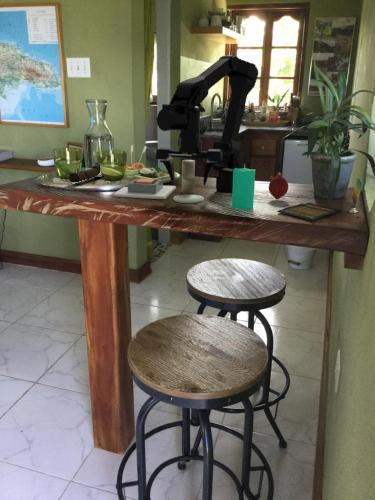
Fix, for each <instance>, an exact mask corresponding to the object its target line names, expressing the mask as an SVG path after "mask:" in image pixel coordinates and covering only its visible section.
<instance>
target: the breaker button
mask: <svg viewBox="0 0 375 500" xmlns="http://www.w3.org/2000/svg"><path fill="white" fill-rule="evenodd" d="M138 179H139V180H137V181H136V183H141V184H154V183H155V179H156V178H155V179H154V178H138Z"/></svg>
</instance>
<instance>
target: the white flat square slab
mask: <svg viewBox="0 0 375 500" xmlns="http://www.w3.org/2000/svg"><path fill="white" fill-rule="evenodd" d="M139 179H140V178H134V179H132V180H131V181H129V182H128V183H127V185H128V187H125V186H123V187H122V188H119V190H117V191H115V192H113V194H112V196H113V197H116V198H117V197H118V198H136V199H137V198H138V199H151V200H153V199H156V200H166V199H167V198H168V197H169V196H170V195H171V194H172V193H173V192H174V191H175V190H176V188H177V186H176V185H164V179H156V178H155V183H154V184H141V183H136V181H137V180H139Z"/></svg>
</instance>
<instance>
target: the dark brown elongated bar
mask: <svg viewBox="0 0 375 500" xmlns="http://www.w3.org/2000/svg"><path fill="white" fill-rule="evenodd" d="M99 173H100V165H99V164H96V165H92V168H89V169H86V170H83V171H82V170H81V171H77V172H71V173H69V174H68V181H71V182H79V181H81V182H83V181H82V180H84V181H86V180H85V179H87V180H91V179H93V178H92V177H95V176H97V175H98V174H99ZM90 178H91V179H90Z"/></svg>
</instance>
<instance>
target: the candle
mask: <svg viewBox="0 0 375 500" xmlns="http://www.w3.org/2000/svg"><path fill="white" fill-rule="evenodd" d="M243 164H244V168H242V169H238V168H235V169H233V190H232V193H231V195H232V196H231V207H232V208H233V209H236V210H252V209H253V208H254V202H255V201H254V199H255V186H256V185H255V183H256V169H255V168H254V169H251V168H247V167H246V163H243Z"/></svg>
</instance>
